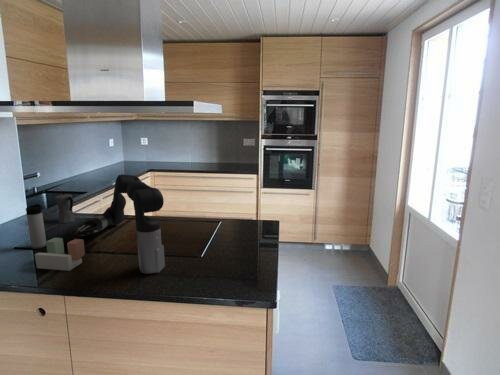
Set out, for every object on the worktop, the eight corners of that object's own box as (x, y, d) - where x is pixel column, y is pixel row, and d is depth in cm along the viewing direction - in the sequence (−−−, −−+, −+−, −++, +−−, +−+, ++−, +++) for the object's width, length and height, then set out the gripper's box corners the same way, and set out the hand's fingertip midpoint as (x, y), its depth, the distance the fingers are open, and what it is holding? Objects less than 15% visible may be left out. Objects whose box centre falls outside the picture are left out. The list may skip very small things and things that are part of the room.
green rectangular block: (64, 253, 150) (62, 238, 148) (56, 257, 145) (54, 242, 143) (56, 252, 150) (54, 237, 149) (48, 257, 145) (45, 241, 144)
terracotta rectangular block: (85, 254, 148) (83, 239, 146) (77, 259, 143) (75, 243, 142) (76, 254, 149) (74, 238, 147) (69, 258, 144) (67, 243, 142)
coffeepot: (53, 221, 202) (49, 191, 198) (69, 217, 209) (65, 188, 205) (66, 225, 193) (62, 194, 189) (82, 221, 201) (79, 191, 197)
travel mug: (49, 243, 167) (44, 204, 162) (42, 248, 160) (36, 207, 156) (36, 243, 166) (30, 204, 162) (28, 249, 160) (22, 208, 156)
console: (82, 262, 145) (80, 249, 144) (69, 270, 138) (67, 256, 136) (51, 260, 148) (49, 247, 147) (36, 268, 140) (34, 254, 139)
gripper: (83, 216, 175) (60, 227, 158) (107, 218, 173) (85, 229, 156) (85, 230, 177) (62, 243, 160) (108, 232, 174) (87, 244, 158)
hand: (73, 236), depth 158 cm, fingers closed
